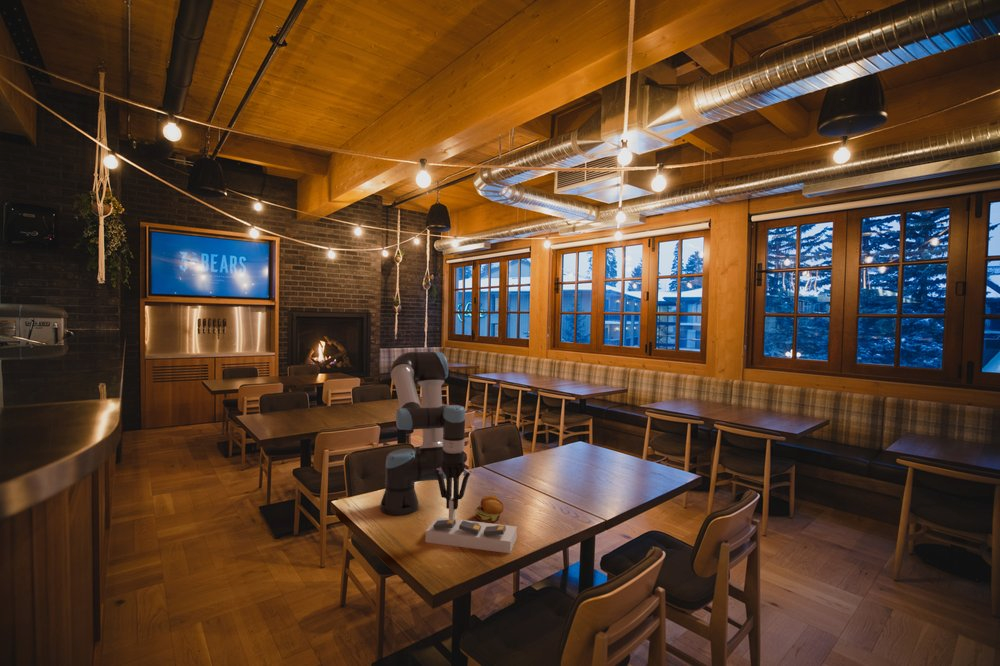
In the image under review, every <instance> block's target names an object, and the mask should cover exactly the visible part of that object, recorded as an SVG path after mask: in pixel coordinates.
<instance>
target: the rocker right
mask: <svg viewBox="0 0 1000 666" xmlns="http://www.w3.org/2000/svg"><path fill="white" fill-rule="evenodd" d="M505 530H506V527H505V526H489V527H486V528H485V530H484V536H487V535H504V532H505Z"/></svg>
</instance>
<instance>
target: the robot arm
mask: <svg viewBox="0 0 1000 666" xmlns="http://www.w3.org/2000/svg"><path fill="white" fill-rule="evenodd" d="M390 366H391V367H390V369H389V370H390V372H389V373H390V378H391V380H392V381H393V383H394V386H395V391H396V395H397V401H398V407H399V408H398V409H397V410H396V413H395V423H396V424H395V425H396V428H397V429H398V430H404V431H405V430H406V431H411V430H414V431H415V430H422V444H421V445H420V446H419V452H417V451H416V450H415V449H414V448H410V447H409V448H407V447H406V448H405V447H404V448H400V449H396V450H393V451H391V452H389V453H388V454H387V456H386V459H385V486H384V487H385V488H384V489H385V491H384V493H383V496H382V498H381V502H380V511H381V512H382V513H383V514H386V515H391V516H403V515H409V514H412V513H414V512H416V511H417V510H418V509H419V500H418V496H417V492H416V489H415V483H416V482H418V483H419V482H427V481H438V482H437V483H438V487H439V491H440V497H441V498H444V499H446V503H445V505H446V509H447V510H448V518H449V519H451V520H453V519H455V518H456V510H457V509H458V508H459V500H462V498H463V497H464V496H465V492H466V487H467V484H468V480H469V477H470V475H471V474H472V471H471V470H468V469H466V465H465V451H464V450H465V437H466V436H465V433H466V432H465V431H466V429H465V427H466V409H465V407H464V406H462V405H459V404H458V405H457V404H453V405H452V404H450V405H445V404H444V405H443V398H442V395H443V394H442V385H444V384H445V380H446V379H447V378H448V377H449V364H448V359H447V357H446V355H445V354H444V353H443V352H438V351H407V352H404V353H403V354H401V355H399V356H398V357H396V358H395V360H394V361H393V362H392V364H391V365H390ZM415 380H417V384H418V386H420V387H421V403H420V399H419V395H418V391H417V388H416V387H417V386H416V384H415ZM461 475H463V478H462V482H461V486H460V476H461ZM445 481H446V483H445ZM459 488H460V489H459ZM452 489H453V491H452ZM452 492H453V493H452Z"/></svg>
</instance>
